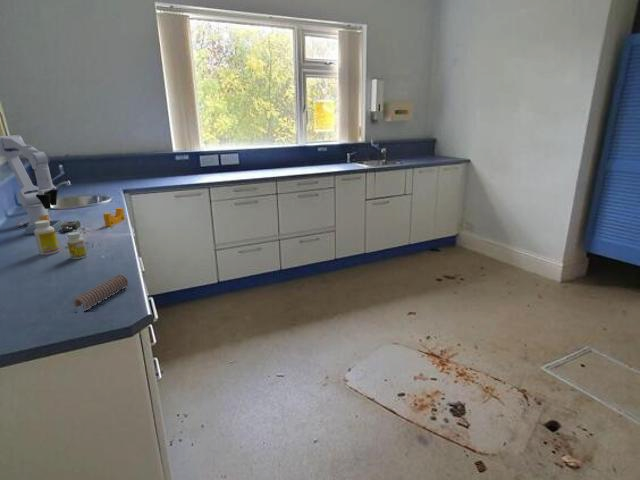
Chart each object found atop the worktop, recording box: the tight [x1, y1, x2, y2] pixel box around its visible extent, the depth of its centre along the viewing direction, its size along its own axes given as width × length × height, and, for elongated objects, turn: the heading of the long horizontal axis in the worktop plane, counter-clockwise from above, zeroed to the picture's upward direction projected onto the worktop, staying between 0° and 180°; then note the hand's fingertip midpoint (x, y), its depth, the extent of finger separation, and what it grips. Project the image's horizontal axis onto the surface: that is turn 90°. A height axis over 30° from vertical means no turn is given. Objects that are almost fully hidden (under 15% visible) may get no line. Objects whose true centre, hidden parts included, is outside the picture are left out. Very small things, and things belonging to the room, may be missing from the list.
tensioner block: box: [61, 220, 81, 234], centre depth 183 cm, size 11×6×3 cm, turn 15°
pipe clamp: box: [102, 207, 126, 228], centre depth 192 cm, size 12×4×6 cm, turn 174°
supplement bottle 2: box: [66, 231, 88, 260], centre depth 147 cm, size 5×5×10 cm
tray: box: [24, 219, 64, 236], centre depth 183 cm, size 11×11×3 cm
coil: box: [72, 273, 129, 309], centre depth 114 cm, size 5×5×18 cm
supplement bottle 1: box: [33, 220, 60, 256], centre depth 151 cm, size 7×7×13 cm
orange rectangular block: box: [39, 214, 51, 222], centre depth 182 cm, size 3×3×6 cm
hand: (50, 206), depth 184 cm, fingers open, 7 cm apart
